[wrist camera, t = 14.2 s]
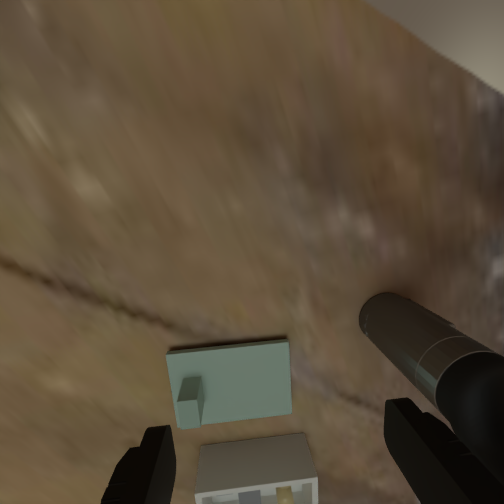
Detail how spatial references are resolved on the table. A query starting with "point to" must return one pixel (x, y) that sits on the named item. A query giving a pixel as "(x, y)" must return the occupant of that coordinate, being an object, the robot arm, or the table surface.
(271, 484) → the parts tub
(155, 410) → the table surface
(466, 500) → the robot arm
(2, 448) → the table surface
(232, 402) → the lid
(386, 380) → the table surface
